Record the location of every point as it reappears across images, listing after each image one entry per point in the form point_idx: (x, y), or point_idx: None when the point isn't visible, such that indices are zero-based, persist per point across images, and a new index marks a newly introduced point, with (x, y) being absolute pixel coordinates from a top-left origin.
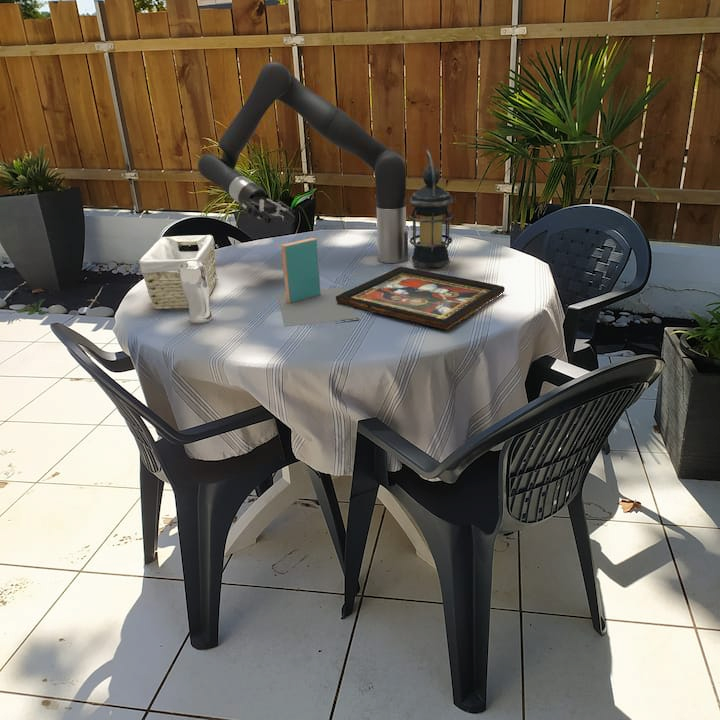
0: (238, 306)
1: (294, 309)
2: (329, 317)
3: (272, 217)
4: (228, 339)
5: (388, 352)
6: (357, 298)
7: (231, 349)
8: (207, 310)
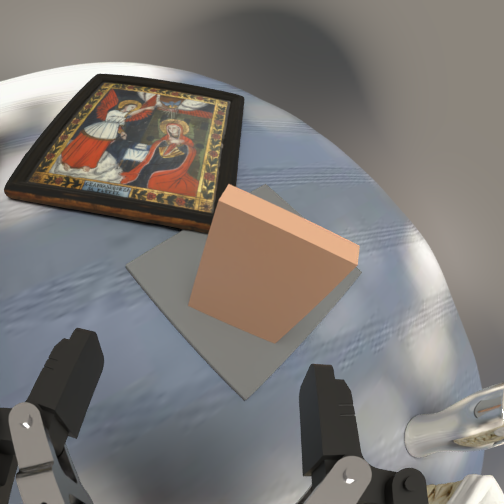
0: None
1: None
2: None
3: (316, 366)
4: (429, 327)
5: (318, 143)
6: (202, 200)
7: (437, 300)
8: (431, 414)
